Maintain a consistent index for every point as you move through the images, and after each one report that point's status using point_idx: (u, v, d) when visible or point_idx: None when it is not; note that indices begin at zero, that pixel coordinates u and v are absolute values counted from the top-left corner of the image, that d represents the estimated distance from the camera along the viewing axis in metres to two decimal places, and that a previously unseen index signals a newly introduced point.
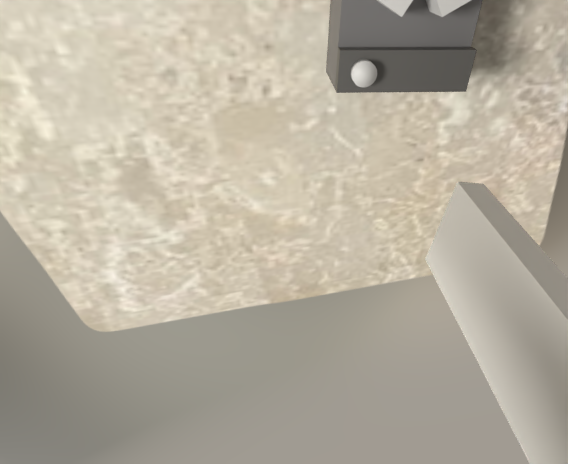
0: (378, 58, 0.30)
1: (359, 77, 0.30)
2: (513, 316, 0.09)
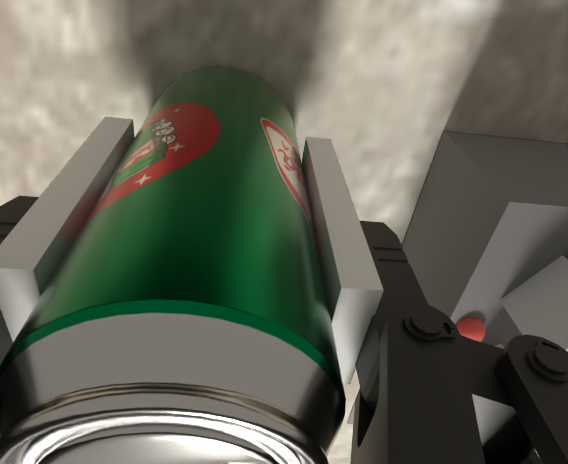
0: None
1: None
2: None
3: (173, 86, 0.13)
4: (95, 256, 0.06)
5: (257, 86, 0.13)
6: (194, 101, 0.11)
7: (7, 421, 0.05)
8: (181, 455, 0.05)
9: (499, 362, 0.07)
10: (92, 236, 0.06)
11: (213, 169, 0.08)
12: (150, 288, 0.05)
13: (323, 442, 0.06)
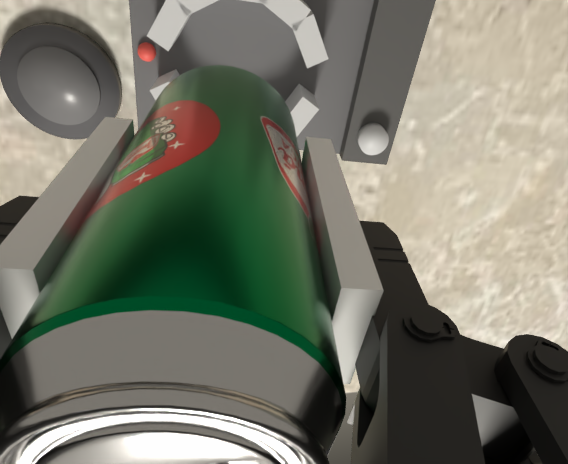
0: (360, 119, 0.26)
1: (375, 147, 0.26)
2: None
3: (173, 84, 0.13)
4: (94, 253, 0.06)
5: (257, 84, 0.13)
6: (193, 99, 0.10)
7: (5, 419, 0.05)
8: (180, 453, 0.05)
9: (499, 361, 0.07)
10: (91, 233, 0.06)
11: (213, 166, 0.08)
12: (150, 286, 0.05)
13: (323, 441, 0.06)
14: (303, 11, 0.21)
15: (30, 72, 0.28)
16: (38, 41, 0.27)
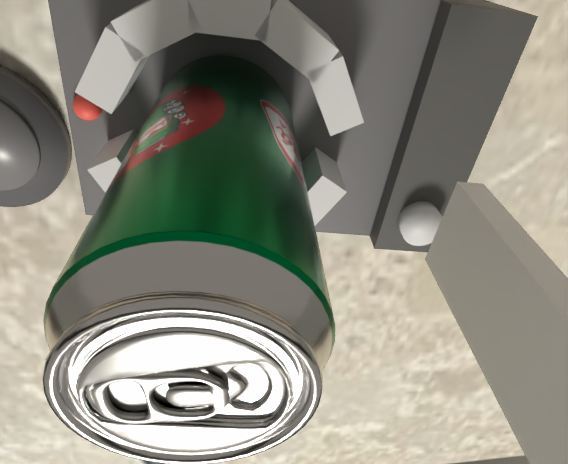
0: (403, 196, 0.18)
1: (424, 236, 0.18)
2: (513, 316, 0.09)
3: (179, 73, 0.14)
4: (127, 204, 0.07)
5: (256, 72, 0.14)
6: (200, 84, 0.12)
7: (61, 331, 0.06)
8: (201, 354, 0.06)
9: None
10: (120, 191, 0.08)
11: (220, 138, 0.09)
12: (175, 223, 0.06)
13: (316, 354, 0.07)
14: (326, 52, 0.13)
15: None
16: None
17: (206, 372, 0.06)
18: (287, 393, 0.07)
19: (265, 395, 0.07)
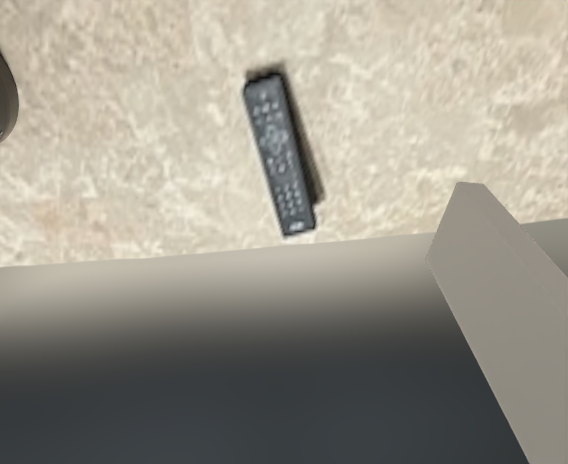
0: None
1: None
2: (513, 316, 0.09)
3: None
4: None
5: None
6: None
7: None
8: None
9: None
10: None
11: None
12: None
13: None
14: None
15: None
16: None
17: None
18: None
19: None
